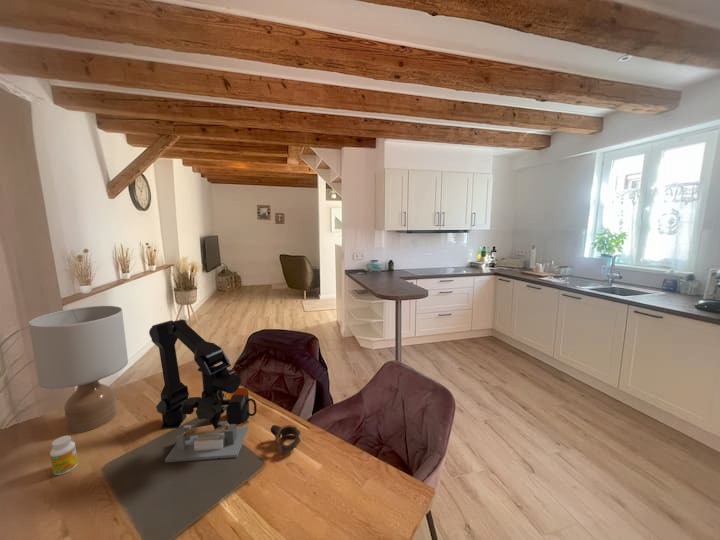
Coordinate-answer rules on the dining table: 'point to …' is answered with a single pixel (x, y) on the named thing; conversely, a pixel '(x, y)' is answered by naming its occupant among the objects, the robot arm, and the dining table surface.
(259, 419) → the dining table surface
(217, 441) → the board
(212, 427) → the strap
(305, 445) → the dining table surface
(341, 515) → the dining table surface
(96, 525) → the dining table surface
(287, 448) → the vr controller
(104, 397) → the lamp
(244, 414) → the mug
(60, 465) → the supplement bottle
